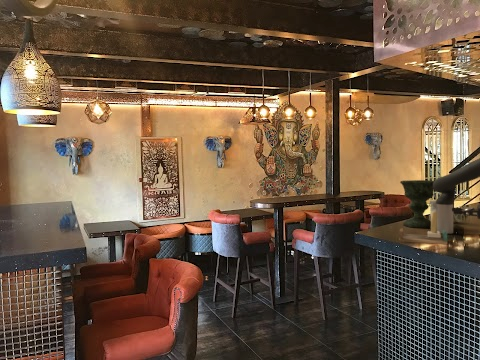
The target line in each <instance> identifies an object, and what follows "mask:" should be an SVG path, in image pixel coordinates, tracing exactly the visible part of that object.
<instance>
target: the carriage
mask: <svg viewBox="0 0 480 360" xmlns="http://www.w3.org/2000/svg"><path fill="white" fill-rule="evenodd" d="M430 219H431V228H430V231H429V230H428V231H427V235H428V237H436V238H441V236H442V235H441V234H442V233H440V232H437V212H431V218H430Z"/></svg>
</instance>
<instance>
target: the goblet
mask: <svg viewBox="0 0 480 360" xmlns="http://www.w3.org/2000/svg"><path fill="white" fill-rule="evenodd" d="M434 181H435V180H426V179H425V180H424V179H423V180H421V179H420V180H419V179H415V180H410V179H408V180H401V181H400V182H399V183H400V184H401V185H402V187H403V191H404V193H403V195H404V197H405V198H407V199H409V200H410V204H408V207H409V209H410V210H411V211H412V212H413V214H414V215H413V216H412V217H410V218H408V219H406V220H404V222H403V223H402V225H403V226H405V227H408V228H418V229H431V221H430V220H429V218H426V217H424V213H425V212H426V210H428V209H429V208H430V207H429V204H428V203H427V201H428V200H430V199H432V198H433V197H434V191H435V190H434V189H433V183H434Z"/></svg>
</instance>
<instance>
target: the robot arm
mask: <svg viewBox="0 0 480 360" xmlns="http://www.w3.org/2000/svg"><path fill="white" fill-rule="evenodd" d="M479 178H480V157H479V158H477V159H475V160H473V161H470V162H469V163H467V164H465V165H463V166H462V167H459V168H458V169H455V170H454V171H452V172H450V173H449V174H446V175H443V176H440V177H438V178H435V180H433V181H434V183H433V189H434V191H435V192H436V193H440V196H439V197H438V198H436V199H435V200H436V212H437V232H440V234H443V231H446V232H447V235H448V234H449V235H450V234H454V215H462V216H464V217H465V216H469V217H470V216H471V217H477V219H478V220H480V204H477V206H476V208H474V207H472V206H471V207H469V206H468V207H467V206H461V207H454V201H455V199H456V186H458V185H460V184H464V183H468V182H471V181H474V180H476V179H479Z"/></svg>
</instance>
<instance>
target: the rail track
mask: <svg viewBox="0 0 480 360" xmlns="http://www.w3.org/2000/svg"><path fill="white" fill-rule="evenodd" d="M399 242H403V243H418V244H419V243H422V244H435V245H436V244H437V245H448V234H447V232H446V231H443V233H442V235H441V238H436V237H428V234H427V235H426V234H425V235H424V234H410V233H409V234H407V233H404V228H399Z"/></svg>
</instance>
